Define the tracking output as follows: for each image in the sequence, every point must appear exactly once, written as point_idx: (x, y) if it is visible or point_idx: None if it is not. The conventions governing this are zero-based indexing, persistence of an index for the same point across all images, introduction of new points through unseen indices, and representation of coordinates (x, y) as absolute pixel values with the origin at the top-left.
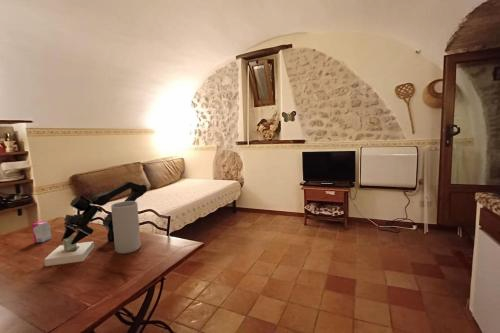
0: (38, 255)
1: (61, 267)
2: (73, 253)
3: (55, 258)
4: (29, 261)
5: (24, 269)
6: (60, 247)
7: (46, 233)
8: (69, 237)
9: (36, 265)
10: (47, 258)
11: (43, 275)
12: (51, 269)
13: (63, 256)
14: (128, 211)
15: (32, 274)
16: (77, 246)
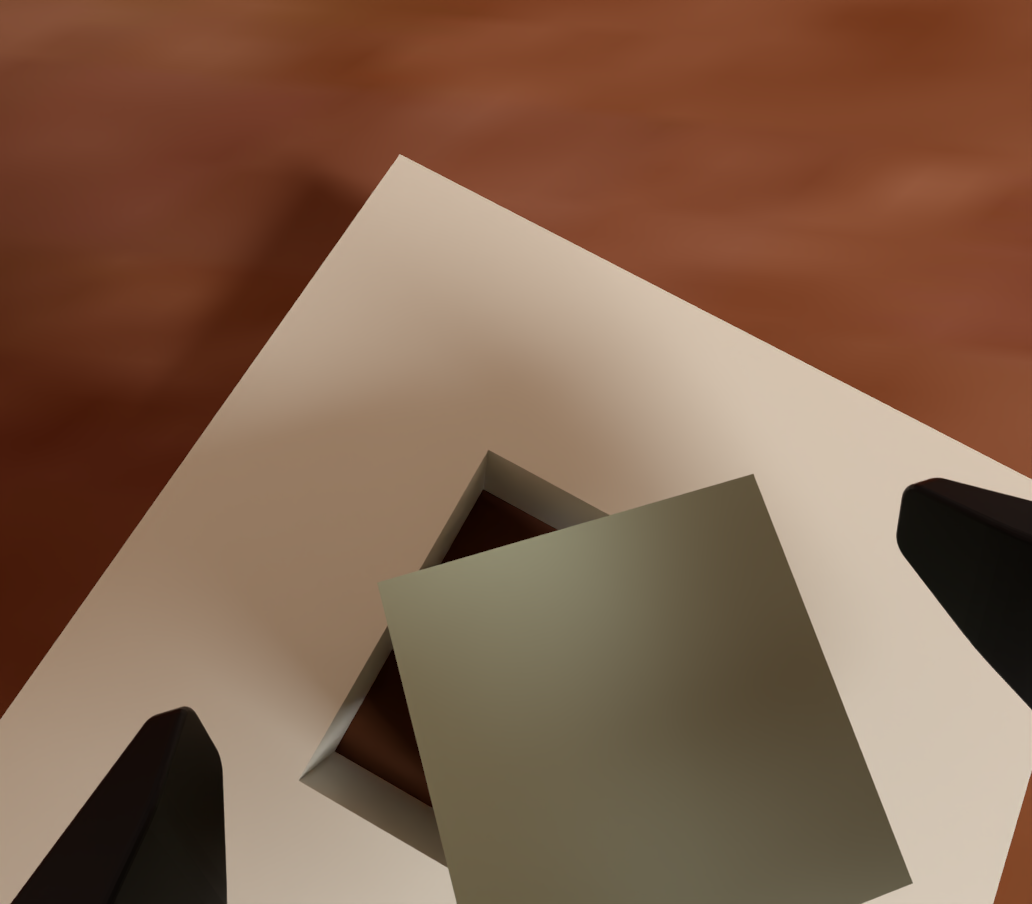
0: (1024, 223)
1: (85, 440)
2: None
3: (287, 332)
4: (831, 101)
5: (535, 24)
6: None
7: None
8: (820, 762)
9: (563, 154)
10: (388, 202)
11: (15, 181)
12: (159, 300)
13: (191, 473)
14: None
15: (222, 77)
16: None
